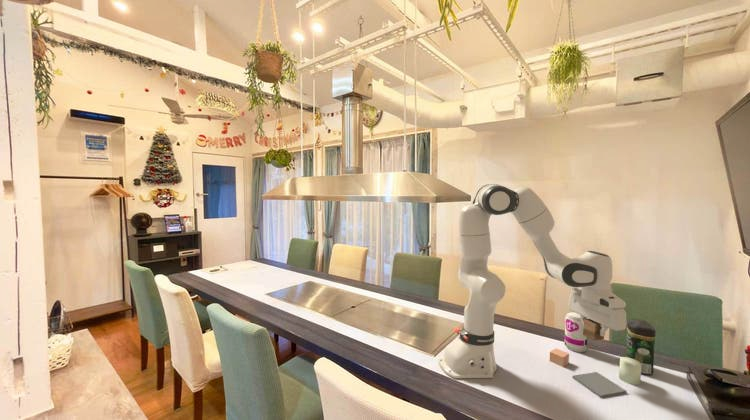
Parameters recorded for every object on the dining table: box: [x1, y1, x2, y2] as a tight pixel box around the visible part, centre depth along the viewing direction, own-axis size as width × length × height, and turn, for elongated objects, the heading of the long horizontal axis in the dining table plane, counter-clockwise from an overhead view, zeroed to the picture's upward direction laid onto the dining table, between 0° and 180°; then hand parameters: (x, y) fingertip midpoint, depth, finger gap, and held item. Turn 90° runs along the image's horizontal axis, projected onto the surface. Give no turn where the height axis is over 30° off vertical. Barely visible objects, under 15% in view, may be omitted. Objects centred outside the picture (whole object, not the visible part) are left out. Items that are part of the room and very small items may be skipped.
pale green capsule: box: [618, 356, 642, 386], centre depth 111 cm, size 6×6×7 cm
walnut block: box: [583, 318, 605, 342], centre depth 113 cm, size 4×4×6 cm
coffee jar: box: [625, 318, 656, 375], centre depth 117 cm, size 10×8×19 cm
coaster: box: [572, 371, 627, 398], centre depth 108 cm, size 11×11×1 cm
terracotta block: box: [549, 347, 570, 368], centre depth 122 cm, size 5×5×4 cm
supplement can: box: [563, 311, 588, 353], centre depth 133 cm, size 8×8×15 cm
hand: (593, 331), depth 113 cm, fingers closed on walnut block, 4 cm apart
